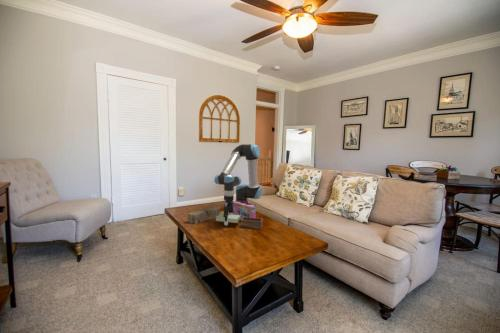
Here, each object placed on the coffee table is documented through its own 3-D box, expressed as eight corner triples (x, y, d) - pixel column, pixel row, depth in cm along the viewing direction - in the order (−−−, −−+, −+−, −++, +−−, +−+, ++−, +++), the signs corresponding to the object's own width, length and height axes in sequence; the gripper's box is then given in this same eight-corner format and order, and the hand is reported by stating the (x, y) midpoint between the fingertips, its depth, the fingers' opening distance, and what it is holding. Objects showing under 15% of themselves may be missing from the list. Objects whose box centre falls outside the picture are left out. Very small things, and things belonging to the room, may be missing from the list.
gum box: (230, 216, 199) (230, 201, 198) (236, 214, 205) (237, 199, 204) (249, 223, 183) (250, 206, 182) (256, 220, 189) (256, 205, 187)
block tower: (193, 225, 178) (221, 216, 200) (193, 215, 177) (221, 206, 199) (187, 223, 183) (215, 214, 205) (187, 213, 182) (215, 205, 204)
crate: (242, 224, 180) (243, 216, 179) (262, 226, 176) (262, 218, 176) (240, 227, 173) (240, 219, 172) (261, 229, 169) (261, 221, 169)
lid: (220, 218, 185) (220, 213, 185) (240, 220, 182) (240, 215, 181) (216, 222, 176) (216, 217, 175) (236, 224, 172) (237, 219, 172)
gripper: (228, 192, 189) (228, 218, 191) (219, 198, 167) (218, 227, 169) (237, 192, 187) (236, 218, 189) (228, 198, 165) (228, 228, 167)
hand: (228, 222), depth 179 cm, fingers closed on lid, 10 cm apart
